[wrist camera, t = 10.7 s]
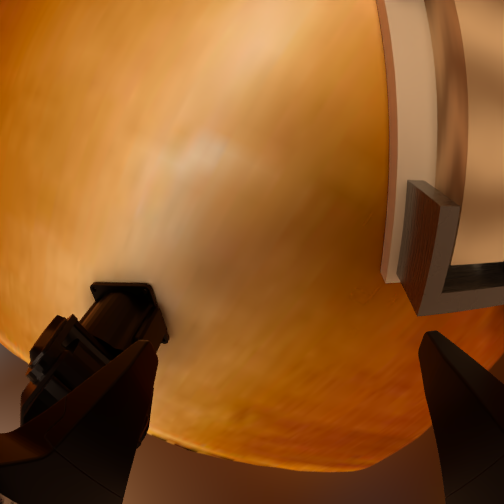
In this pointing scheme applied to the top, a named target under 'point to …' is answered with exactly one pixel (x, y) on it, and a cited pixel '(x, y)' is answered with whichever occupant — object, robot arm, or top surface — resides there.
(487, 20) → the beige rectangular bar
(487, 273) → the end caps
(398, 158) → the end-cap board
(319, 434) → the top surface
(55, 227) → the top surface
